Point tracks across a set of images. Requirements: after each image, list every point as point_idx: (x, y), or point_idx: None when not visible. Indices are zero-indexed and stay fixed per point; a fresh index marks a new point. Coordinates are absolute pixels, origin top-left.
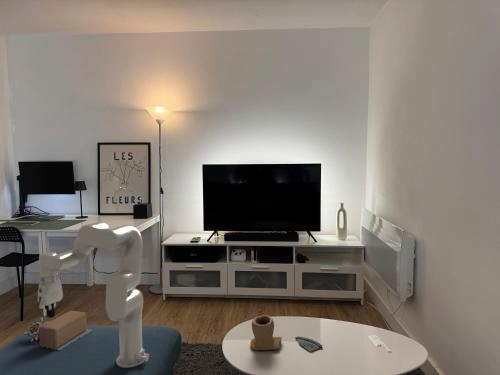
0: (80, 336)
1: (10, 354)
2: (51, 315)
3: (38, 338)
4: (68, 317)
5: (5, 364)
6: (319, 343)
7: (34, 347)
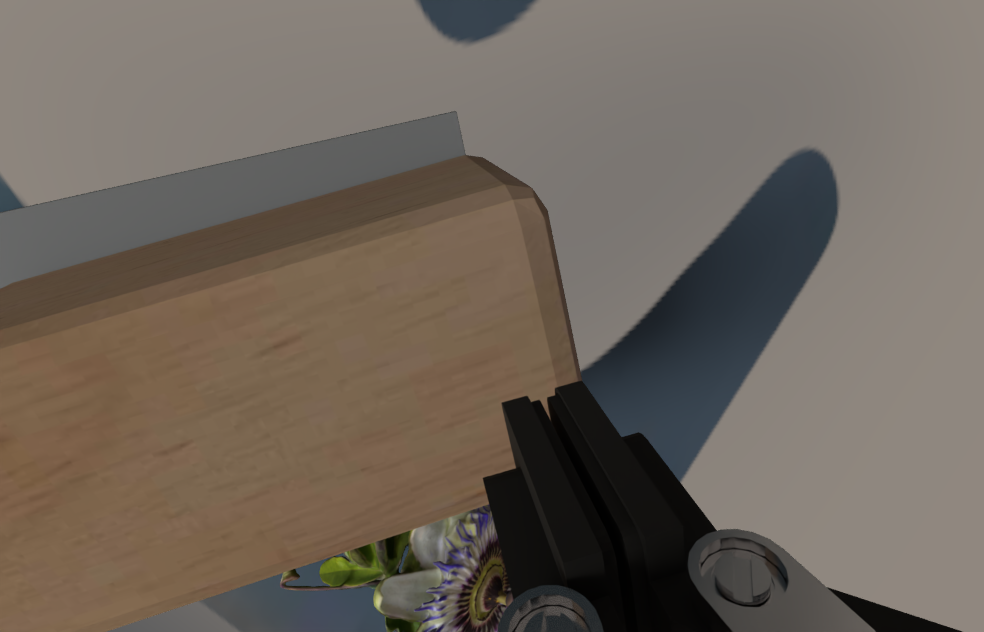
0: (140, 205)
1: (684, 420)
2: (601, 418)
3: None
4: (150, 448)
5: (787, 302)
6: None
7: None
